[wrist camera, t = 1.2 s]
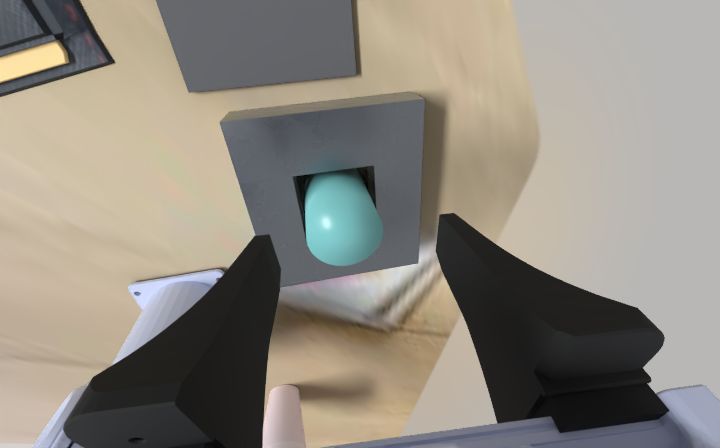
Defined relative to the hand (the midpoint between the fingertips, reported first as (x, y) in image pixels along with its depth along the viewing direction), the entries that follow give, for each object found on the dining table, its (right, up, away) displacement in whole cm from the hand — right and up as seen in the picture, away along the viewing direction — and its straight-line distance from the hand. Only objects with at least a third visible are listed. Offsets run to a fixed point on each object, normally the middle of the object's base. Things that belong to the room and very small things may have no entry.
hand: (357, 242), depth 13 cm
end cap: (-2, +4, +12) cm, 13 cm away
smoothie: (-10, -21, +27) cm, 35 cm away
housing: (-2, +4, +12) cm, 13 cm away
